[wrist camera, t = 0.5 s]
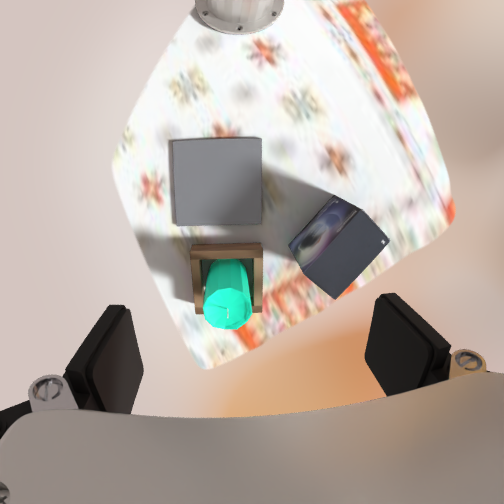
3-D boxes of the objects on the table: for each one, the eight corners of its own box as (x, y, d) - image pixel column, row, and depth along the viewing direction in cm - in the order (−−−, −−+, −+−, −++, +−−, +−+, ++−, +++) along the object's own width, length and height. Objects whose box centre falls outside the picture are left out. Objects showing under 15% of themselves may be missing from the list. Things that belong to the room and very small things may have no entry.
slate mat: (173, 141, 38) (172, 141, 37) (261, 138, 39) (261, 138, 38) (177, 225, 42) (176, 226, 42) (260, 222, 43) (261, 223, 42)
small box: (332, 191, 42) (362, 206, 32) (360, 219, 44) (393, 240, 34) (285, 244, 44) (301, 273, 35) (315, 269, 46) (336, 302, 36)
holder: (192, 244, 43) (189, 251, 40) (260, 242, 44) (262, 249, 41) (197, 304, 47) (195, 314, 44) (260, 302, 47) (262, 312, 45)
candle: (200, 278, 45) (191, 321, 34) (223, 248, 44) (222, 285, 33) (231, 299, 47) (232, 345, 36) (255, 271, 45) (264, 313, 34)
